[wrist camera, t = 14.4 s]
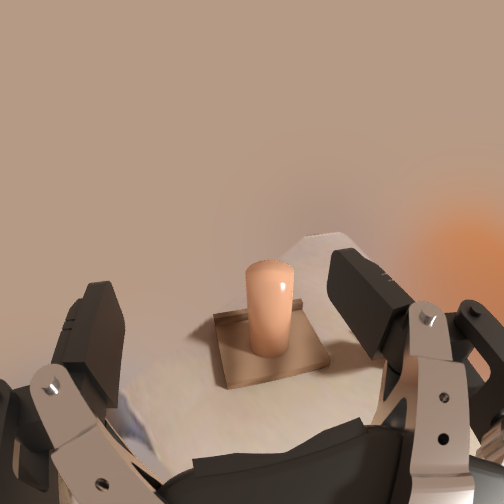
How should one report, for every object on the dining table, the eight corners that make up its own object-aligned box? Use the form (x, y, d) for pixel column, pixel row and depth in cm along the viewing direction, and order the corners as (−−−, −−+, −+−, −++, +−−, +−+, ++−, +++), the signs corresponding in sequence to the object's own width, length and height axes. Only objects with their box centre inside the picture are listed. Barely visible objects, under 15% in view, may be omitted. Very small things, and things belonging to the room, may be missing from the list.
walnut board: (227, 389, 32) (225, 376, 31) (215, 328, 43) (213, 314, 41) (328, 365, 35) (332, 352, 33) (299, 312, 45) (300, 298, 44)
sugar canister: (254, 361, 35) (250, 290, 29) (246, 333, 39) (241, 263, 33) (294, 353, 36) (300, 282, 30) (282, 326, 40) (285, 257, 34)
